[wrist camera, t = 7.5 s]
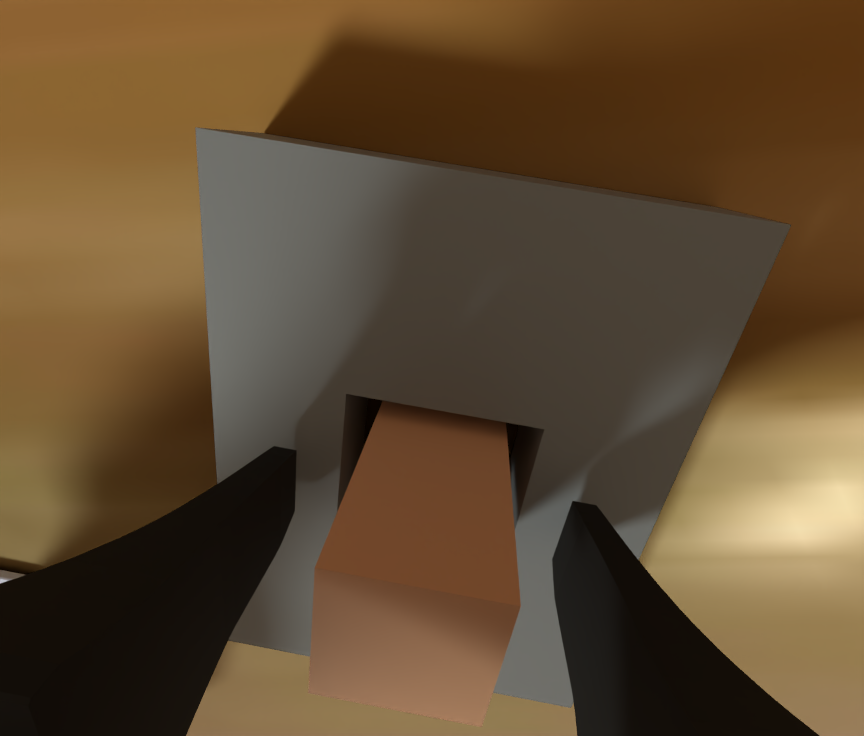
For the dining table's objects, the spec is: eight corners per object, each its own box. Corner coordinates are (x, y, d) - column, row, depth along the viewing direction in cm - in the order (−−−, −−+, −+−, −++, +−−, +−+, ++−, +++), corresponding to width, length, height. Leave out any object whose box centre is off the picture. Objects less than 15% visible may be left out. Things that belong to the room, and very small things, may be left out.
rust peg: (482, 471, 16) (481, 727, 9) (385, 454, 16) (308, 692, 9) (502, 384, 15) (521, 606, 8) (396, 366, 15) (315, 567, 8)
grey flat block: (557, 622, 19) (571, 707, 16) (265, 566, 19) (226, 640, 16) (718, 207, 12) (791, 225, 9) (262, 133, 12) (195, 127, 10)
